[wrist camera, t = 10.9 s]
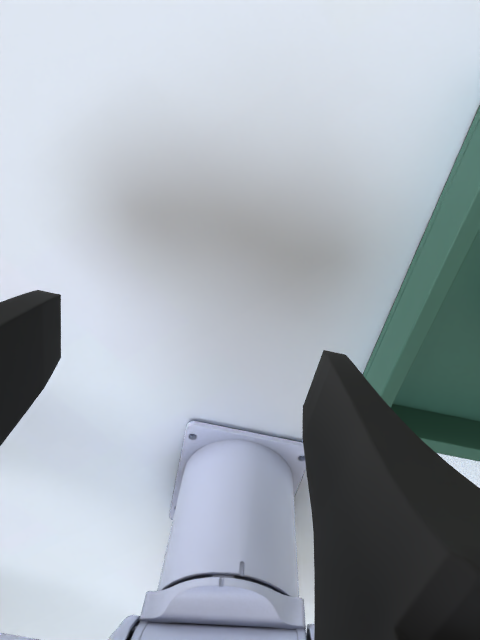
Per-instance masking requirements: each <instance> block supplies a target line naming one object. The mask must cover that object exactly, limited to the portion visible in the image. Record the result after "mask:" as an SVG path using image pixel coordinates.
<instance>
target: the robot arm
mask: <svg viewBox="0 0 480 640" xmlns="http://www.w3.org/2000/svg"><path fill="white" fill-rule="evenodd" d="M60 358H61V295H59V294H54V293H49V292H45V291H40V290H36V291H32V292H29V293H25V294H22V295H20V296H17V297H14V298H11V299H8V300H6V301H3V302H0V446H1V444H2V443H3V442H4V440H5V439H6V438H7V437H8V435H9V434H10V433H11V431H12V430H13V429H14V427H15V426H16V425H17V423H18V422H19V421H20V419H21V418H22V417H23V415H24V414H25V413H26V412H27V410H28V409H29V408H30V406H31V405H32V404H33V402H34V401H35V399H36V398H37V397H38V395H39V394H40V393H41V391H42V390H43V389H44V387H45V385H46V384H47V382H48V380H49V378H50V377H51V375H52V373H53V371H54V369H55V367H56V365H57V364H58V362H59V360H60ZM191 434H195V435H191ZM300 456H303V457H300ZM305 470H307V478H308V486H309V493H310V501H311V509H312V518H313V530H314V567H315V624H307V632H306V630H305V629H306V627H305V611H304V599H302V598H299V584H298V565H297V547H296V529H295V510H294V497H295V494H296V492H297V489H298V487H299V484H300V482H301V479H302V477H303V475H304V472H305ZM169 517H170V519H171V520H173V522H172V527H171V531H170V536H169V540H168V545H167V549H166V554H165V558H164V563H163V567H162V572H161V576H160V581H159V585H158V590H157V591H148V592H146V596H145V600H144V604H143V608H142V612H141V616H137V615H131V616H128V617H126V618H125V619H124V620H123V621H122V623H121V624H120V625H119V627H118V628H117V629H116V630H115V631H114V632H113V633H112V635H111V636H110V637H109V639H108V640H480V488H478V487H477V486H476V485H475V484H473V483H472V482H471V481H469V480H468V479H467V478H466V477H464V476H463V475H462V474H460V473H459V472H458V471H457V470H455V469H454V468H453V467H452V466H451V465H449V464H448V463H447V462H446V461H445V460H443V459H442V458H441V457H440V456H439V455H438V454H437V453H436V452H434V451H433V450H432V449H431V448H430V447H429V446H428V445H427V444H426V443H424V442H423V441H422V440H421V439H420V438H419V437H418V436H417V435H416V434H415V433H414V432H413V431H412V430H411V429H410V428H409V427H408V426H407V425H406V424H405V423H404V422H403V421H402V420H401V419H400V418H399V416H398V415H397V414H396V413H395V412H394V411H393V410H392V409H391V408H390V407H389V405H388V404H387V403H386V402H385V401H384V400H383V399H382V397H381V396H380V395H379V394H378V393H377V392H376V390H375V389H374V388H373V387H372V386H371V384H370V383H369V382H368V381H367V380H366V378H365V377H364V376H363V375H362V373H361V372H360V371H359V370H358V369H357V367H356V366H355V365H354V364H353V363H352V361H351V360H350V359H349V358H348V357H347V356H346V355H344V354H339V353H334V352H330V351H325V350H324V351H323V354H322V356H321V359H320V362H319V364H318V367H317V370H316V373H315V375H314V378H313V381H312V384H311V386H310V389H309V392H308V395H307V397H306V400H305V403H304V405H303V442H298V441H293V440H288V439H282V438H277V437H272V436H267V435H262V434H257V433H252V432H247V431H242V430H237V429H232V428H227V427H222V426H217V425H212V424H207V423H202V422H197V421H191V422H189V423H188V424H187V426H186V431H185V436H184V441H183V446H182V452H181V457H180V462H179V467H178V472H177V478H176V483H175V488H174V493H173V498H172V504H171V509H170V514H169ZM0 640H39V639H33V638H27V637H21V636H15V635H10V634H4V633H0Z"/></svg>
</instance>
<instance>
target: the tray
mask: <svg viewBox="0 0 480 640" xmlns="http://www.w3.org/2000/svg"><path fill="white" fill-rule="evenodd" d="M363 376H364V377H365V378H366V380H367V381H368V382H369V383H370V384H371V386H372V387H373V388H374V389H375V390H376V392H377V393H378V394H379V395H380V396H381V397H382V399H383V400H384V401H385V402H386V403H387V404H388V405H389V407H390V408H391V409H392V410H393V411H394V412H395V413H396V414H397V415H398V416H399V418H400V419H401V420H402V421H403V422H404V423H405V424H406V425H407V426H408V427H409V428H410V429H411V430H412V431H413V432H414V433H415V434H416V435H417V436H418V437H419V438H420V439H421V440H422V441H423V442H424V443H426V444H427V445H428V446H429V447H430V448H431V449H432V450H433V451H434V452H436V453H440V454H445V455H450V456H455V457H460V458H465V459H470V460H475V461H480V106H479V109H478V111H477V113H476V116H475V118H474V120H473V123H472V125H471V127H470V129H469V132H468V134H467V136H466V139H465V141H464V143H463V146H462V148H461V150H460V152H459V155H458V157H457V159H456V162H455V164H454V166H453V169H452V171H451V173H450V176H449V178H448V180H447V182H446V185H445V187H444V189H443V192H442V194H441V196H440V199H439V201H438V203H437V205H436V208H435V210H434V212H433V215H432V217H431V219H430V222H429V224H428V226H427V228H426V231H425V233H424V235H423V238H422V240H421V242H420V245H419V247H418V249H417V251H416V254H415V256H414V258H413V261H412V263H411V265H410V268H409V270H408V272H407V275H406V277H405V279H404V281H403V284H402V286H401V288H400V291H399V293H398V295H397V298H396V300H395V302H394V304H393V307H392V309H391V311H390V314H389V316H388V318H387V321H386V323H385V325H384V327H383V330H382V332H381V334H380V337H379V339H378V341H377V344H376V346H375V348H374V351H373V353H372V355H371V357H370V360H369V362H368V364H367V367H366V369H365V371H364V374H363Z"/></svg>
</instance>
